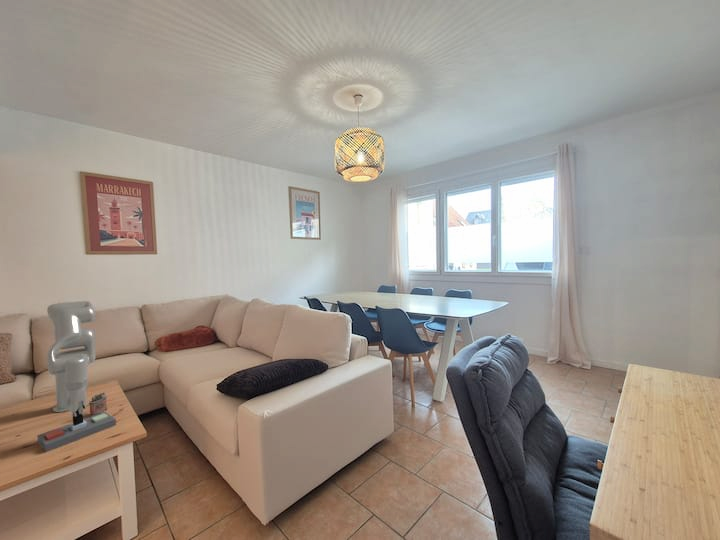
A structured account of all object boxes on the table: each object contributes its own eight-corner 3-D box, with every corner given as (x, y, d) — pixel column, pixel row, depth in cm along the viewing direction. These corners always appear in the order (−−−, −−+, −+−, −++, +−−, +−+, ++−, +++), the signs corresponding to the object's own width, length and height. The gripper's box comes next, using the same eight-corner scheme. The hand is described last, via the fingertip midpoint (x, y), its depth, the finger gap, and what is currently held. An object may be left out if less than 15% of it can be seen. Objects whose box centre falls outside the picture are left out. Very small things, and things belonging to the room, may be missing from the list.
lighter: (92, 417, 153) (92, 398, 152) (87, 416, 153) (87, 397, 153) (109, 409, 161) (108, 391, 160) (104, 409, 161) (103, 391, 161)
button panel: (37, 441, 132) (37, 435, 132) (105, 417, 152) (104, 411, 152) (46, 452, 124) (45, 445, 124) (115, 425, 145) (115, 419, 145)
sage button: (91, 424, 144) (91, 417, 144) (104, 419, 148) (104, 413, 148) (95, 427, 142) (95, 420, 142) (108, 422, 146) (108, 415, 146)
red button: (45, 441, 131) (44, 434, 131) (60, 436, 135) (60, 428, 135) (48, 445, 128) (47, 437, 128) (64, 439, 132) (63, 431, 132)
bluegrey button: (69, 431, 137) (69, 424, 137) (83, 426, 142) (83, 419, 142) (72, 434, 135) (72, 427, 135) (87, 429, 139) (87, 422, 139)
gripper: (60, 384, 138) (62, 423, 139) (70, 391, 131) (72, 432, 131) (81, 379, 145) (83, 416, 145) (92, 385, 137) (94, 424, 137)
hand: (78, 423), depth 138 cm, fingers closed
